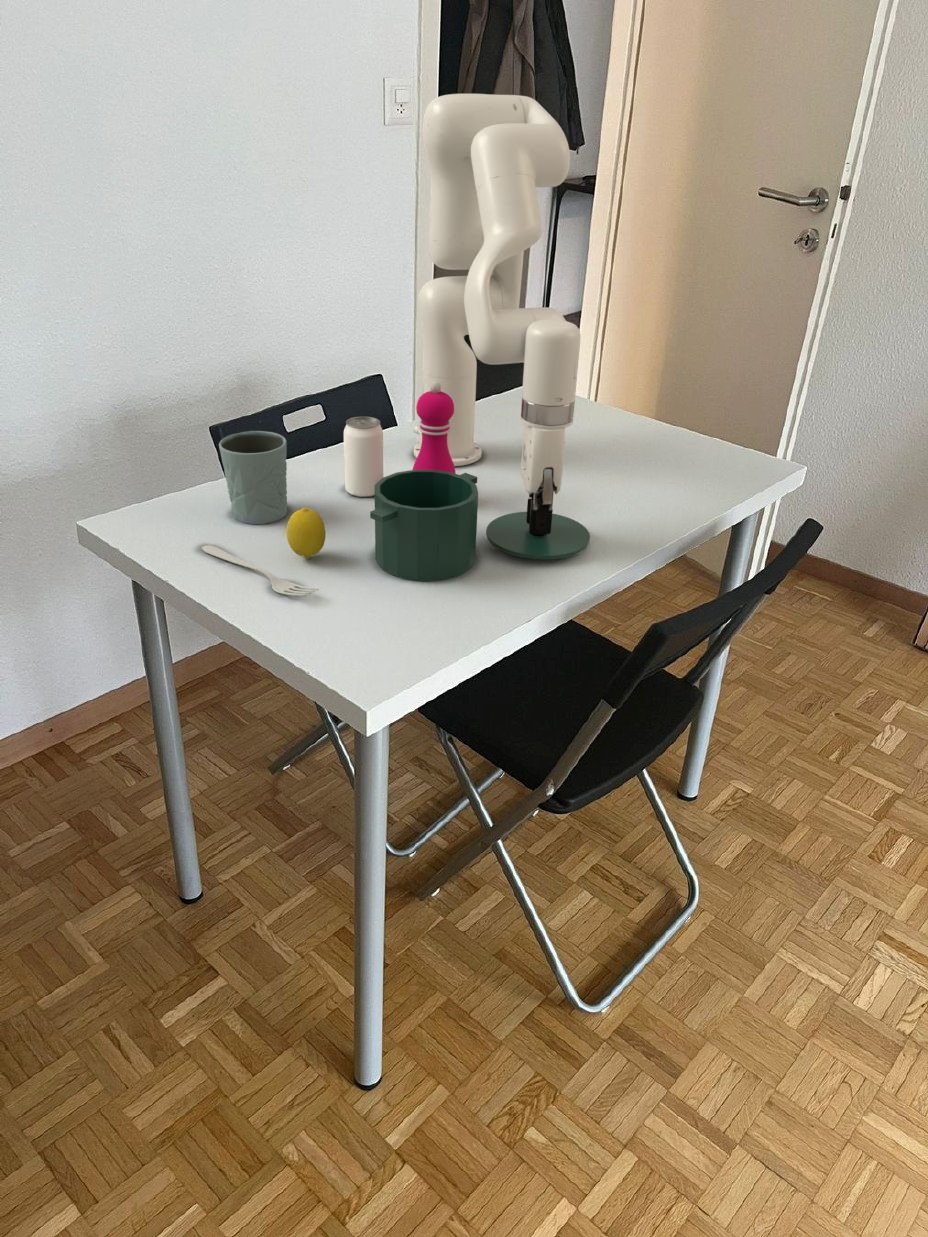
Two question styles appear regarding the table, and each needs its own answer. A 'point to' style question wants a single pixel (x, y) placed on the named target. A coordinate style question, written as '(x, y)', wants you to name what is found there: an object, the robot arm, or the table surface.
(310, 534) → the lemon
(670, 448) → the table surface
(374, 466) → the can
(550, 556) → the lid
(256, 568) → the fork
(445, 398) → the pepper mill
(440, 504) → the pot
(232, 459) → the grey-green cup
